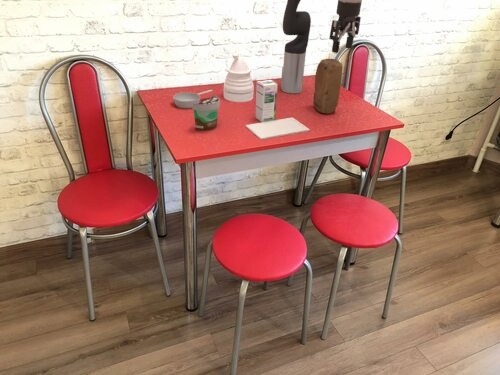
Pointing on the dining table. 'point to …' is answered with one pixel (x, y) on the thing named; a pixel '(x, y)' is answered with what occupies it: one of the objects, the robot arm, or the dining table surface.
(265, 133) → the mat
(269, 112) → the syrup box
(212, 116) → the food container
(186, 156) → the dining table surface
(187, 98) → the saucepan
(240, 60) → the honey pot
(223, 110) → the dining table surface
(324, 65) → the block
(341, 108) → the dining table surface
